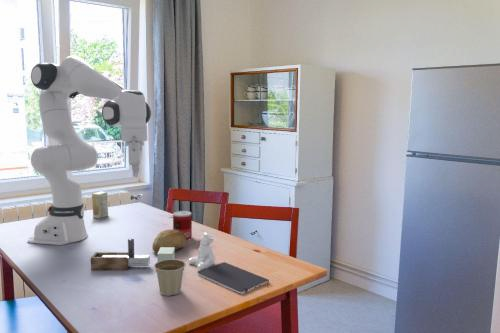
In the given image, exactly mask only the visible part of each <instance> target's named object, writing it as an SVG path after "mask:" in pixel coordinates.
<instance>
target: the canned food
mask: <svg viewBox="0 0 500 333" xmlns="http://www.w3.org/2000/svg"><path fill="white" fill-rule="evenodd" d="M192 225H193V220H192V212H191V211H188V210H178V211H175V212H173V214H172V229H174V230H178V231H181V232H183V233H184V234H185V235H186V239H187V241H190V240H192V236H193V234H192V232H193V229H192V228H193V227H192Z"/></svg>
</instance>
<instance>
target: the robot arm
mask: <svg viewBox="0 0 500 333" xmlns="http://www.w3.org/2000/svg"><path fill="white" fill-rule="evenodd" d="M30 73H31V74H30V81H31V82H32V83H31V84H32V85H33V86H34V87H36V88H38V89H39V90H42V92H41V93H40V94H39V97H38V102H39V104H38V105H39V114H40V117H41V118H40V119H41V123H42V128H43V131H44V134H45V135H46V136H47V137H48V138H49V139H51V140H54V141H56V142H58V143H59V144H55V145H46V146H42V147H37V148H35V149H34V151H32V152H31V155H30V164H31V167H32V168H33V170H34V171H36V172H37V173H39V174H41V175H42V177H44V178H45V179H46V180H47V181H48V184H49V186H50V189H51V193H52V204H51V205H50V206H49V207H48V208H47V209H46V210H47V211H46V212H48V214H47V216H45V217H44V218H43V219H41V220H40V221H39V222H38V223H37V224H36V225H35V226H34V230H33V231H34V232H33V234H32V235H30V236H29V237H28V239H27V241H28V243H29V244H41V245H42V244H43V245H54V246H55V245H56V246H63V245H64V246H65V245H66V244H70V243H76V242H79V241H83V240H85V239H86V238H88V236H89V235H88V232H87V229H86V225H85V220H84V216H85V209H84V208H85V207H84V203H83V193H82V192H83V190H82V186H81V184H80V183H79V182H77V181H75V180H73V179H70V178H69V177H68V174H67V173H69V172H77V171H84V170H89V169H92V168H94V167H95V166H96V165H97V162H98V160H99V155H98V151H97V149H96V148H95V147H94V146H93V145H92V144H89V143H87V142H86V141H85V140H84V139H82V137H81V136H80V135H79V134H78V133H77V131H76V129H75V127H74V124H73V121H72V117H71V113H70V110H69V105H68V98H69V99H75V98H76V97H77V96H79V95H83V96H84V97H90V98H99V99H104V100H107V101H105V103H104V104H103V106H102V108H101V116H102V119H103V121H104V122H105V124H106V125H108V126H111V127H121V128H120V129H121V131H120V132H121V142H125V146H126V147H128V148H127V149H128V163H129V166H131V170H132V177H134V178H137V177H139V173H140V164H141V161H142V156H143V146H145V142H147V141H148V126H147V124H148V123H149V121H150V119H151V116H152V110H151V107H150V106H149V104H148V103H147V101H146V97H145V94H144V93H143V92H142V91H140V90H136V89H125V88H123V87H122V86H120V85H119V84H118V83H116V82H114V81H113V80H111V79H109V78H108V77H106V76H104V75H103V74H102V73H100V71H98V70H96V69H95V68H94V67H93V66H92V65H91V64H90V63H89V62H87V61H86V60H84V59H82V58H81V57H78V56H77V55H69V56H67V57H65V58H64V59H63V60H62V61H61V63H60V64H55V63H54V62H41V63H40V62H39V63H37V64H35V65H34V66H33V67H32V70H31V72H30Z"/></svg>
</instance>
